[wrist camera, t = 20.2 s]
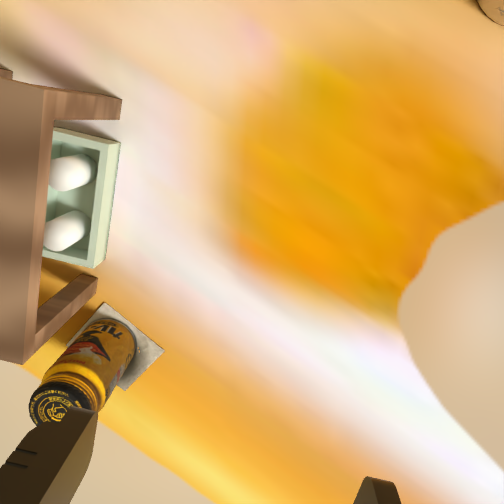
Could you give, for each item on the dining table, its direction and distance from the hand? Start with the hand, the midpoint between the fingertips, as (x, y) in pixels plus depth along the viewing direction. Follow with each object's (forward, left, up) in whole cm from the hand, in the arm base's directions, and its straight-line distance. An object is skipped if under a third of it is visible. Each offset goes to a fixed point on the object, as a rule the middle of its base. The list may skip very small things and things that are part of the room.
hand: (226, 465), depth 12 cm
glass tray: (+2, -18, -30) cm, 35 cm away
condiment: (+18, -12, -30) cm, 37 cm away
